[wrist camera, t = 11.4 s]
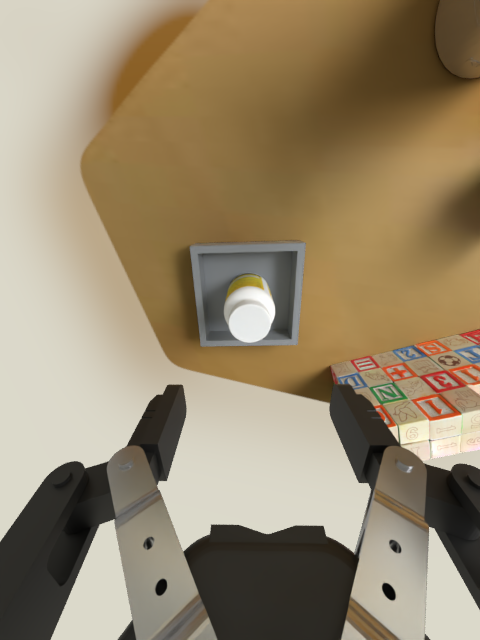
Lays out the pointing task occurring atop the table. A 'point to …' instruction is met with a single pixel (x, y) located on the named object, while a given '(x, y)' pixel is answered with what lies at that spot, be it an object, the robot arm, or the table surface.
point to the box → (248, 257)
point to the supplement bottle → (249, 307)
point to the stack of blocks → (424, 393)
